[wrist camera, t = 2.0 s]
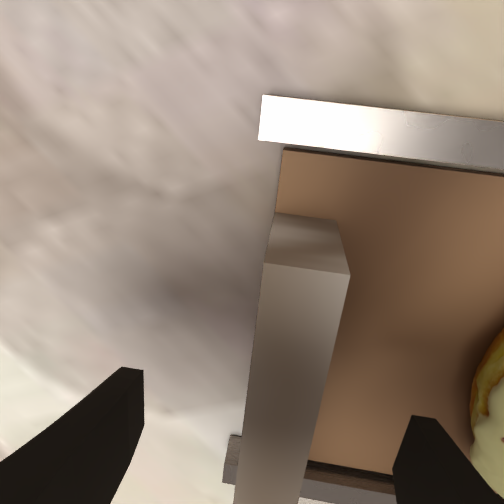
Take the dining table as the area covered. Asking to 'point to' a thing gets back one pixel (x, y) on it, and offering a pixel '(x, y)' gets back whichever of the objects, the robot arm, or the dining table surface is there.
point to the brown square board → (368, 314)
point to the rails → (384, 143)
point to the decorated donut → (489, 416)
